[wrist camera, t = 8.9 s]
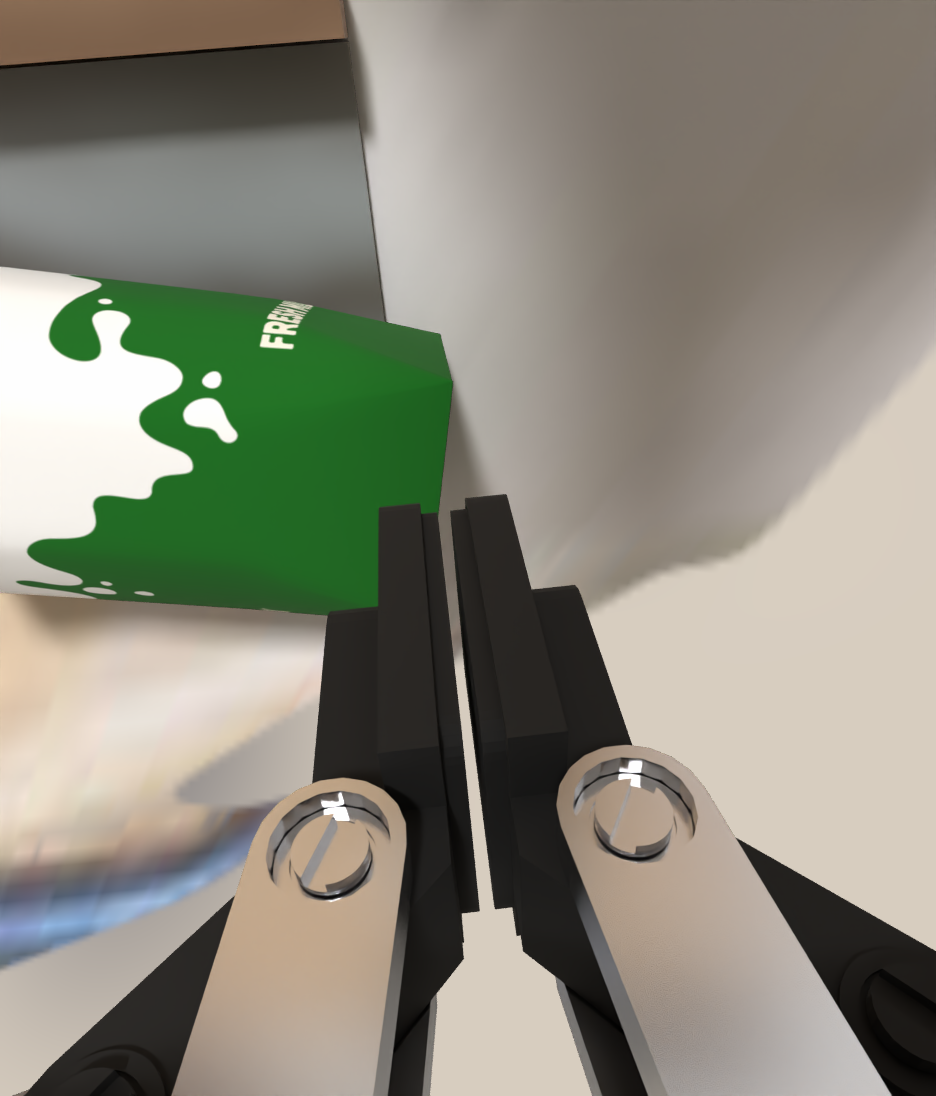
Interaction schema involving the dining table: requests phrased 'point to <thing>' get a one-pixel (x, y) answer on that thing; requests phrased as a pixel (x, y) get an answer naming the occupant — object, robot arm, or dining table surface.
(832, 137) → the dining table surface
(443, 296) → the dining table surface
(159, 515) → the soya milk
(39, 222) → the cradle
